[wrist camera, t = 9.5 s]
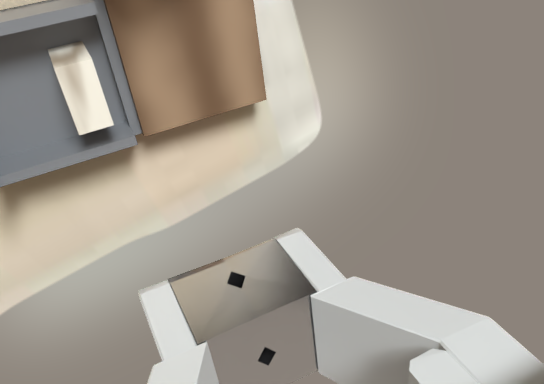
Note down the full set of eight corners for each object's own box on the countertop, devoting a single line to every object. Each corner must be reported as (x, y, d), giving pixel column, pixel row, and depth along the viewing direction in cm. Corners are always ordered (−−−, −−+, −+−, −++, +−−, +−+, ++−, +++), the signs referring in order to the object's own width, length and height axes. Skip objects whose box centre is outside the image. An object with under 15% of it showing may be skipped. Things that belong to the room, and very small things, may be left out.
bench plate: (136, 123, 44) (144, 136, 42) (96, -11, 38) (103, -4, 35) (253, 88, 47) (266, 99, 45) (234, -40, 41) (248, -35, 39)
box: (-12, 167, 40) (-13, 204, 36) (-83, 27, 34) (-94, 50, 30) (136, 123, 44) (153, 151, 39) (96, -11, 38) (111, 4, 33)
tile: (102, 102, 41) (70, 111, 40) (81, 40, 38) (47, 49, 37) (113, 125, 37) (79, 135, 36) (91, 58, 34) (53, 68, 34)
